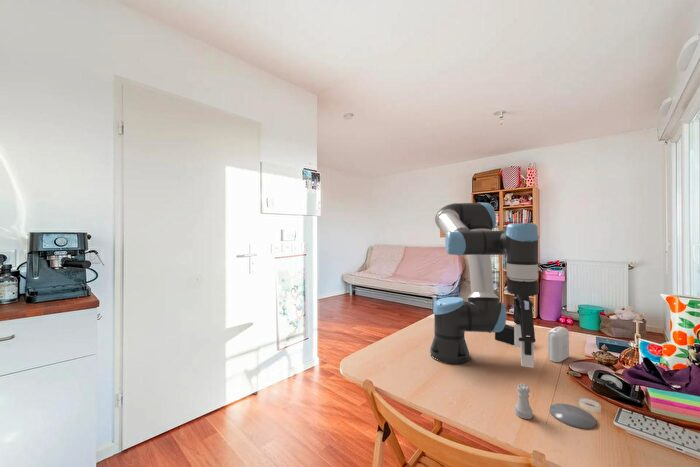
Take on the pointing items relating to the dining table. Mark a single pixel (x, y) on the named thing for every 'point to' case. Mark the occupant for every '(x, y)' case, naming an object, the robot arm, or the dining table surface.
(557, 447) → the dining table surface
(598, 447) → the dining table surface
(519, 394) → the rook chess piece
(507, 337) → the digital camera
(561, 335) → the white rounded block
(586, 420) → the grey disc
